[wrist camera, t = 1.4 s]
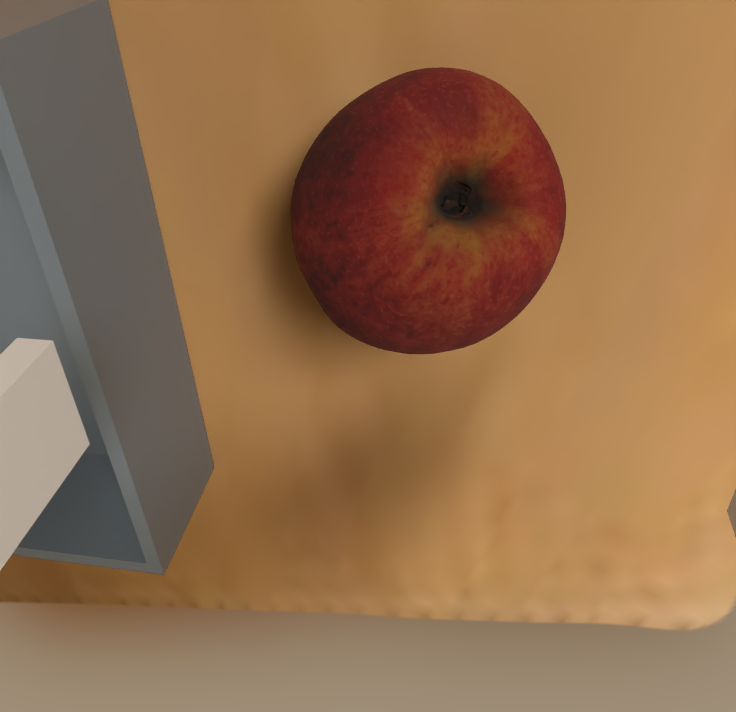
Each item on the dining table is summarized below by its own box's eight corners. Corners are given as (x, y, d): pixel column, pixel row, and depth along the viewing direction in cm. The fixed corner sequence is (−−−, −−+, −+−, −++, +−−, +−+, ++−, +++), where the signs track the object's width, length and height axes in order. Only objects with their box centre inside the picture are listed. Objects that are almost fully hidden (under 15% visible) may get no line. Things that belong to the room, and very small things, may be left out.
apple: (608, 184, 22) (648, 328, 15) (417, 308, 26) (387, 463, 19) (462, -19, 19) (437, 55, 13) (274, 155, 23) (184, 277, 17)
